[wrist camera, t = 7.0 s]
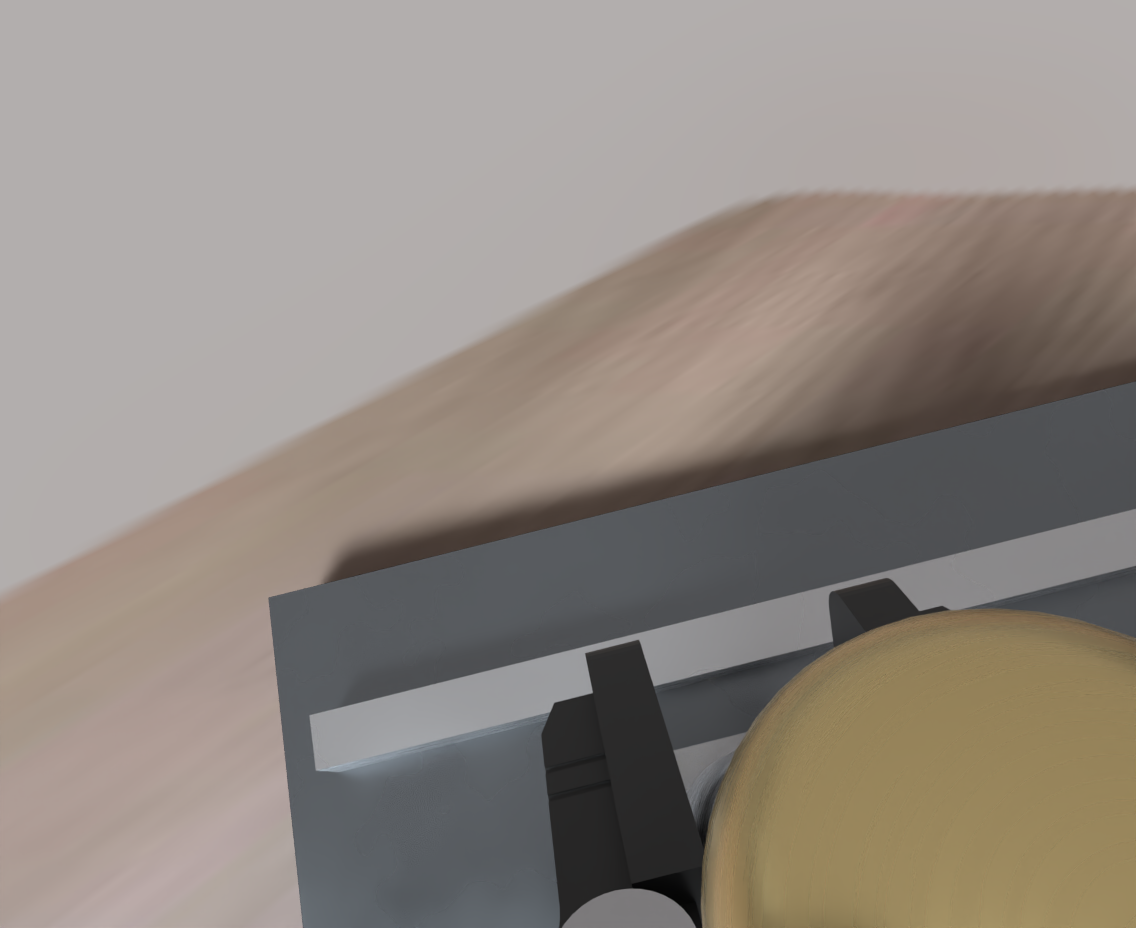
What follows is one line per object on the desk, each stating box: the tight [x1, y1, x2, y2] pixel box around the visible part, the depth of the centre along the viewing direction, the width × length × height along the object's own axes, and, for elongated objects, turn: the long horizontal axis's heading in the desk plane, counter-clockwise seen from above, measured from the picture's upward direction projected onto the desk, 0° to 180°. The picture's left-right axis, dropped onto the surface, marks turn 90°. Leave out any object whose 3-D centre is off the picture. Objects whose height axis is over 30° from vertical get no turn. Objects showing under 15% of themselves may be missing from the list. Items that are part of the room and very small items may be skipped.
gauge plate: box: [269, 381, 1136, 928], centre depth 16 cm, size 22×13×3 cm, turn 103°
